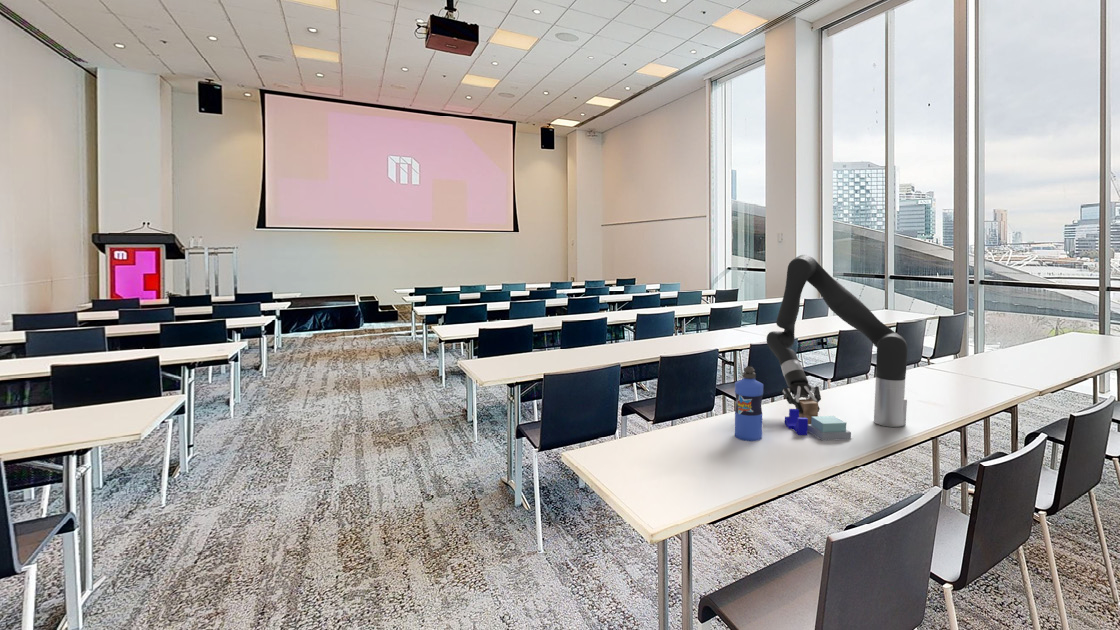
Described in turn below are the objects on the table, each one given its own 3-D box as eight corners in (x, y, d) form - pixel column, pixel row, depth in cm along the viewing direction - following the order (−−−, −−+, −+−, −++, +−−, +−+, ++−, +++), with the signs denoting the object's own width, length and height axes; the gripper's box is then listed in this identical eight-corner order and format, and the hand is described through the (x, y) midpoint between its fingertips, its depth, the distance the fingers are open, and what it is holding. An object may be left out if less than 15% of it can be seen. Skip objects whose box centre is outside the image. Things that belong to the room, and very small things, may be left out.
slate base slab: (833, 431, 191) (834, 422, 191) (850, 440, 181) (851, 432, 181) (807, 432, 191) (807, 424, 190) (822, 442, 181) (822, 433, 180)
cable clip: (784, 424, 199) (785, 408, 198) (797, 424, 198) (797, 408, 197) (793, 435, 187) (794, 418, 186) (807, 435, 186) (807, 419, 185)
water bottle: (741, 430, 192) (742, 362, 190) (766, 436, 186) (768, 366, 183) (729, 437, 186) (730, 367, 183) (754, 443, 179) (756, 371, 176)
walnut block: (809, 419, 203) (810, 399, 202) (817, 424, 197) (818, 403, 196) (795, 420, 202) (796, 399, 201) (803, 424, 197) (803, 403, 196)
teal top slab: (833, 424, 190) (833, 415, 189) (846, 431, 182) (846, 422, 181) (811, 424, 190) (811, 416, 189) (822, 432, 182) (823, 423, 181)
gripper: (779, 369, 205) (794, 408, 194) (815, 368, 206) (832, 406, 195) (772, 379, 210) (787, 418, 200) (807, 378, 211) (823, 416, 201)
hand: (809, 412), depth 198 cm, fingers closed on walnut block, 5 cm apart
